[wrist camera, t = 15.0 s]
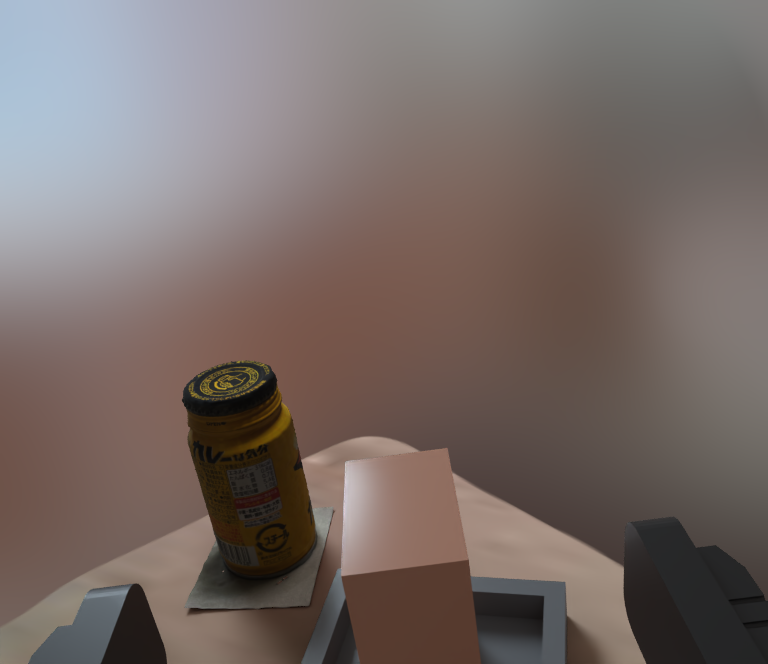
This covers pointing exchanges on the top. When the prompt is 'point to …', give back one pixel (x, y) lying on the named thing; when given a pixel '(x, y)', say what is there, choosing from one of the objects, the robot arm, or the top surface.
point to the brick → (407, 562)
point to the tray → (493, 620)
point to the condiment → (252, 492)
